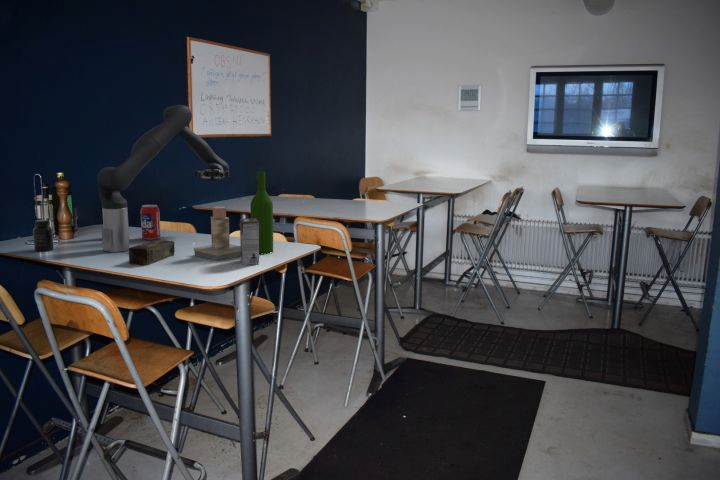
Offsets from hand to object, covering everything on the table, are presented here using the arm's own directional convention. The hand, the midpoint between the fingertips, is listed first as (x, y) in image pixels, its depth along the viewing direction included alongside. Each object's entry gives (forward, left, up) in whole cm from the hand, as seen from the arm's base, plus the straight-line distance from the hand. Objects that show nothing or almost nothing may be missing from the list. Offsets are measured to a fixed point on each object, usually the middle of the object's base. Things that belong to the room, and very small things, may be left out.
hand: (210, 175), depth 243 cm
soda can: (-8, +32, -30) cm, 45 cm away
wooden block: (-10, -17, -27) cm, 33 cm away
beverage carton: (-31, -4, -30) cm, 44 cm away
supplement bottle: (-50, +42, -30) cm, 72 cm away
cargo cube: (-10, -17, -15) cm, 25 cm away
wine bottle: (+5, -25, -30) cm, 39 cm away
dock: (-10, -17, -30) cm, 35 cm away
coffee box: (-11, -35, -30) cm, 47 cm away
